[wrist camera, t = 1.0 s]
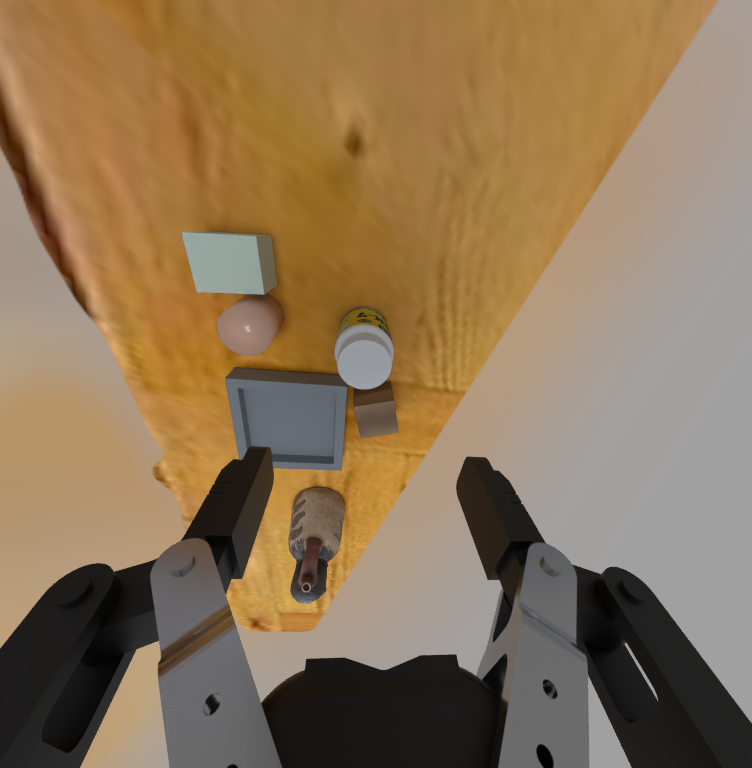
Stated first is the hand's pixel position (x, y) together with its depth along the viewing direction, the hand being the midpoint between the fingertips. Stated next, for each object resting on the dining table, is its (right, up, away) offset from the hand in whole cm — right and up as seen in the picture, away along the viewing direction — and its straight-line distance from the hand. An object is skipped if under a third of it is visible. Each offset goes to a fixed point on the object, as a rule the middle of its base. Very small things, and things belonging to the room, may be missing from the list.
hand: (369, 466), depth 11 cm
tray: (-9, 0, +20) cm, 22 cm away
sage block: (-11, +14, +12) cm, 22 cm away
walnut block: (0, +2, +20) cm, 20 cm away
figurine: (-8, -13, +28) cm, 32 cm away
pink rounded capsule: (-10, +10, +14) cm, 20 cm away
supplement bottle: (-1, +9, +16) cm, 18 cm away
